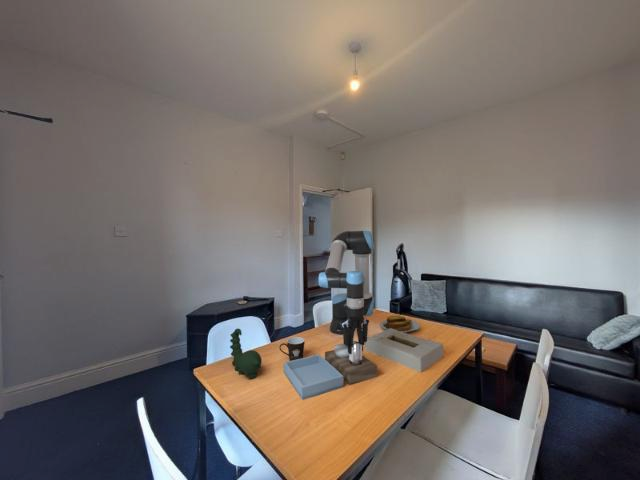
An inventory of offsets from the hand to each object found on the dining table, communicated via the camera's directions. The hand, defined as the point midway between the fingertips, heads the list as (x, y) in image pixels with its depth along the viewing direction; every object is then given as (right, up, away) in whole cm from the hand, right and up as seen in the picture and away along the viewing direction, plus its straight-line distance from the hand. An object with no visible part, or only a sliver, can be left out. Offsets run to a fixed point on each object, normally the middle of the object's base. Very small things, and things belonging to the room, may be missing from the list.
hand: (355, 359), depth 115 cm
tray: (-19, -7, -4) cm, 21 cm away
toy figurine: (-49, -7, +3) cm, 50 cm away
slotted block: (+27, -7, +20) cm, 35 cm away
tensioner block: (-2, -7, +5) cm, 8 cm away
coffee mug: (-29, -7, +14) cm, 33 cm away
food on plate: (+37, -6, +58) cm, 69 cm away
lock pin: (0, -7, 0) cm, 7 cm away
